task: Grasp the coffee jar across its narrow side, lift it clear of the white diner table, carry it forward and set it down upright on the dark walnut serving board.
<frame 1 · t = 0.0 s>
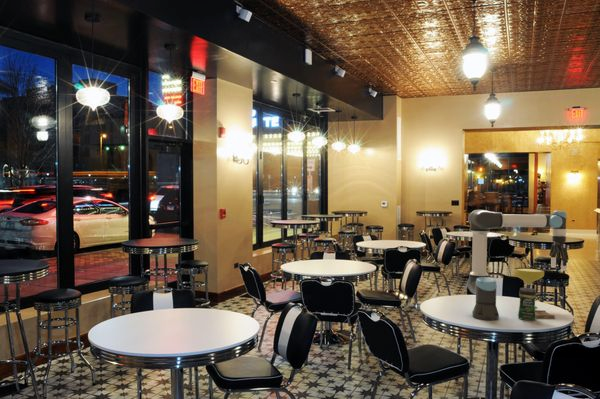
hand: (558, 269, 319), 28 cm above the table, fingers open, 13 cm apart
walnut board: (538, 315, 313), on the table
coffee jar: (526, 319, 305), on the table
cocktail glass: (528, 307, 336), on the table
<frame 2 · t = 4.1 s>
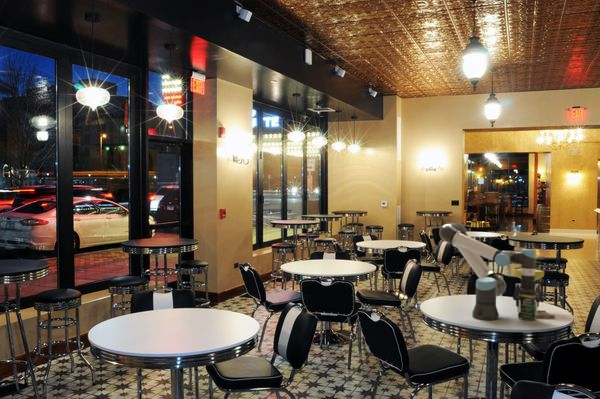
hand: (527, 312, 305), 4 cm above the table, fingers closed on coffee jar, 9 cm apart
coffee jar: (526, 319, 305), on the table, touching gripper
everything else where it was.
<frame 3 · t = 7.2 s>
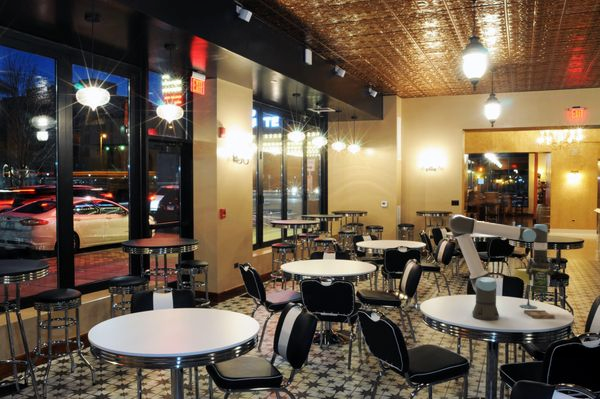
hand: (539, 285, 313), 19 cm above the table, fingers closed on coffee jar, 9 cm apart
coffee jar: (539, 292, 313), point 14 cm above the table, touching gripper
everything else where it was.
when the fingers open (6 cm above the table, at t = 10.2 s): coffee jar drops 1 cm, resting on walnut board.
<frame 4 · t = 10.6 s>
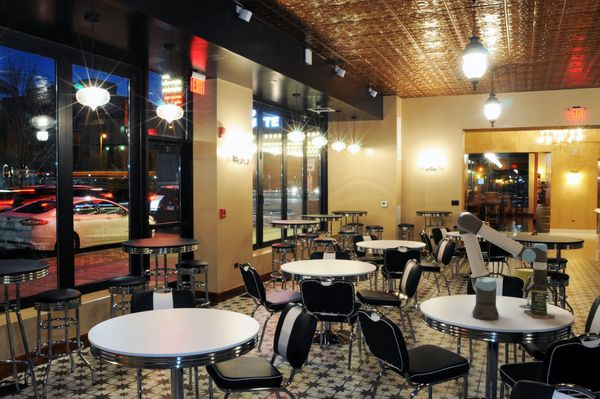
hand: (539, 303, 313), 8 cm above the table, fingers open, 13 cm apart
coffee jar: (538, 313, 313), point 1 cm above the table, touching walnut board
everything else where it was.
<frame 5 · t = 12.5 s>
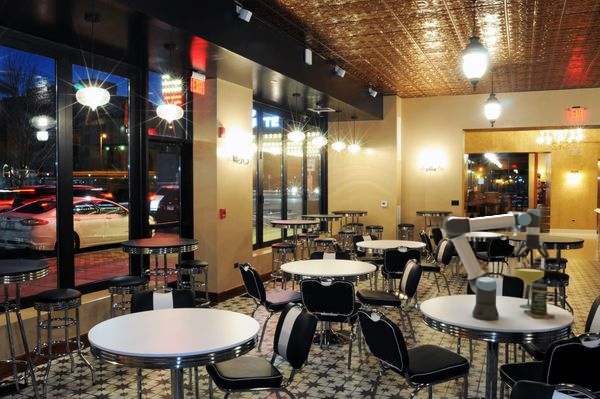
hand: (531, 268, 316), 29 cm above the table, fingers open, 13 cm apart
nothing on the table moved.
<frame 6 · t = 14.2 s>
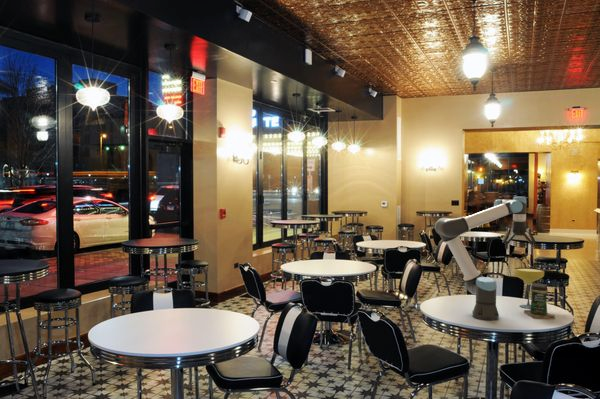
hand: (518, 254, 321), 37 cm above the table, fingers open, 13 cm apart
nothing on the table moved.
at the end: coffee jar inside the target area on the walnut board (0.3 cm from its centre), point 1.0 cm above the walnut board's base; coffee jar tilted 0°; the gripper is holding nothing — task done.
